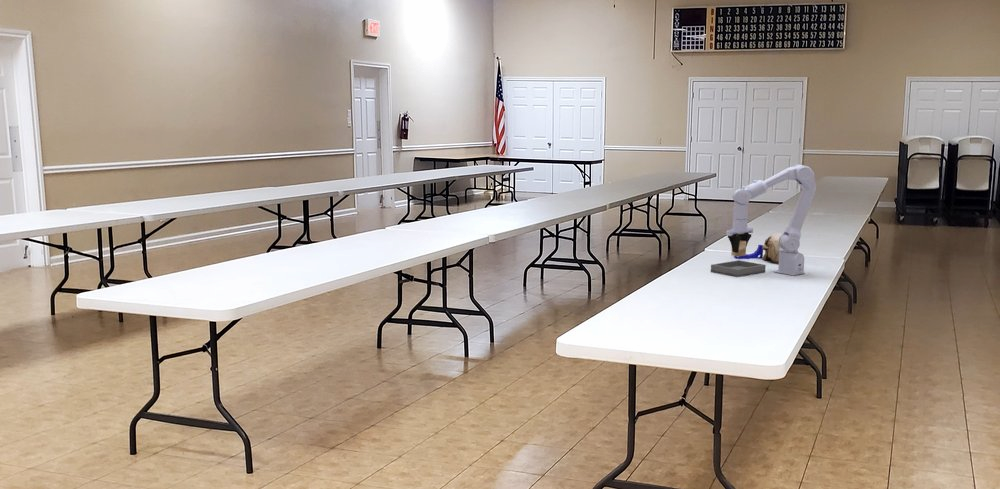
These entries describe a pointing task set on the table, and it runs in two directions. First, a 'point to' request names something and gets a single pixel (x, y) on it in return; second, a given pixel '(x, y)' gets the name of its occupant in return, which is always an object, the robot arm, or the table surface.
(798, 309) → the table surface
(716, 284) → the table surface
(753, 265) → the tray
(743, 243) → the maple block
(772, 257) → the coin bank
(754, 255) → the cable clip
